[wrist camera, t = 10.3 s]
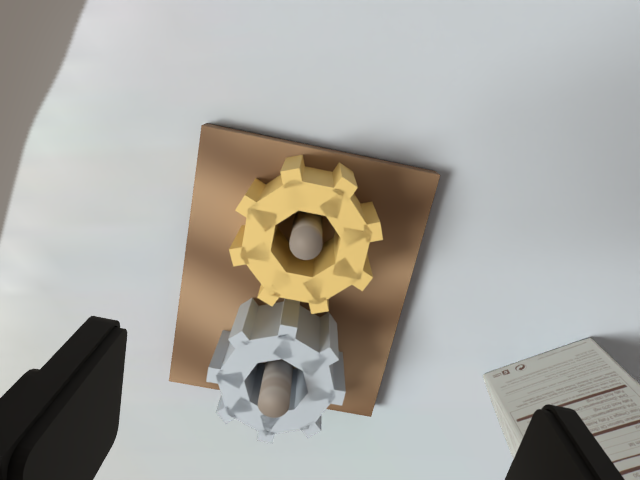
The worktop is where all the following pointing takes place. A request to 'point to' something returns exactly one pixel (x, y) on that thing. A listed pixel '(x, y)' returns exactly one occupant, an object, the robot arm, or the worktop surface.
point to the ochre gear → (336, 255)
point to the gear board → (241, 284)
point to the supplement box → (572, 398)
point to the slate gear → (273, 344)
